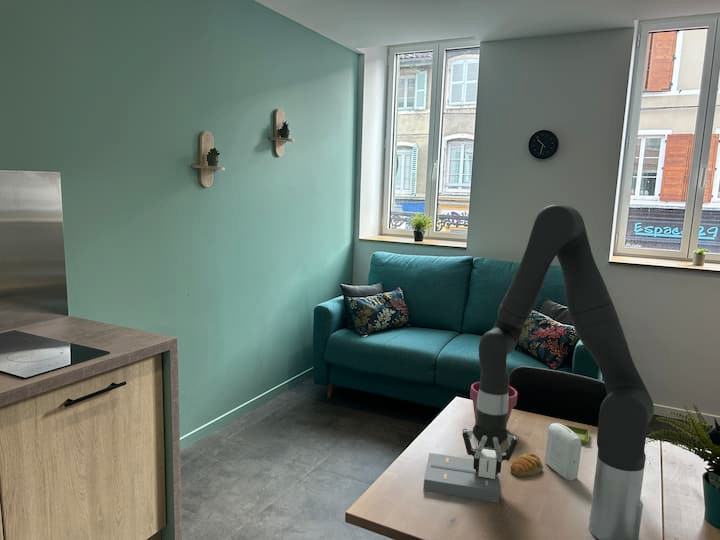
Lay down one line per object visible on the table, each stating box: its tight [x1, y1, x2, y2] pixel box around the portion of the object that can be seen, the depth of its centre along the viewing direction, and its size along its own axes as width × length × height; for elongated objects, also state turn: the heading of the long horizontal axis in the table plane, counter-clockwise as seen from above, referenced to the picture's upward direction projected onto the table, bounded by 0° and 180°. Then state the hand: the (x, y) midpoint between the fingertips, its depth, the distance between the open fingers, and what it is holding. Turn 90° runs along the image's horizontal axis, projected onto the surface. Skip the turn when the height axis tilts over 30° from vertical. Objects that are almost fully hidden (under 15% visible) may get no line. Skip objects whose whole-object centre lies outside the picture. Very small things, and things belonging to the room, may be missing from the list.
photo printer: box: [544, 422, 582, 481], centre depth 143 cm, size 10×4×12 cm, turn 17°
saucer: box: [561, 423, 590, 445], centre depth 165 cm, size 9×9×2 cm
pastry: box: [509, 452, 544, 477], centre depth 143 cm, size 9×7×4 cm
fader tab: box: [478, 448, 497, 479], centre depth 134 cm, size 4×5×5 cm
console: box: [422, 452, 501, 504], centre depth 136 cm, size 18×14×3 cm
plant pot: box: [469, 381, 518, 424], centre depth 168 cm, size 14×14×13 cm
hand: (486, 471), depth 134 cm, fingers closed on fader tab, 4 cm apart
